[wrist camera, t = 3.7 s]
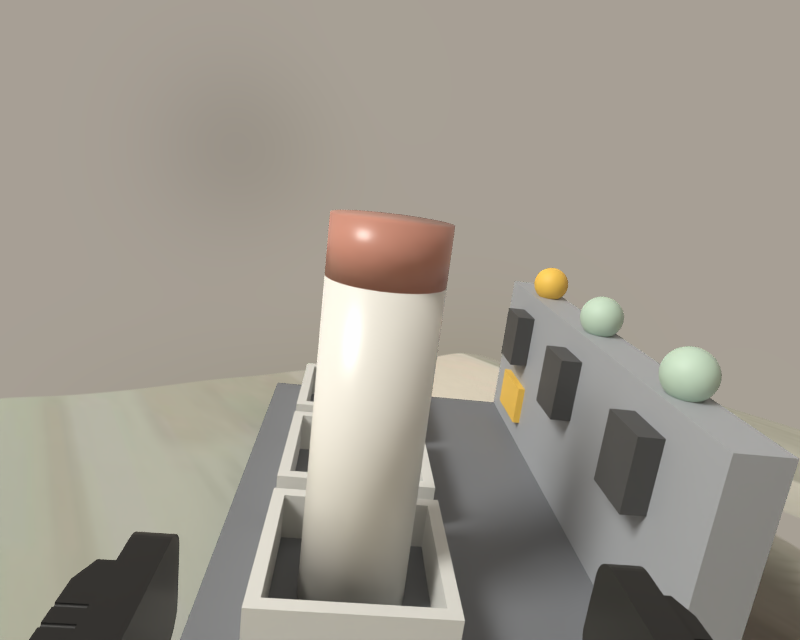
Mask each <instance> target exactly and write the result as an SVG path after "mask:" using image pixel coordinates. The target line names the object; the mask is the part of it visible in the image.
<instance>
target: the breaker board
mask: <svg viewBox="0 0 800 640" xmlns="http://www.w3.org/2000/svg"><path fill="white" fill-rule="evenodd" d="M567 288H568V280H567V277H566V275H565V274H564V273H563V272H562V271H560V270H559V269H556V268H547V269H545V270H543V271H541V272H540V273H539V274H538V275H537V277H536V279H535V283H527V282H519V281H515V283H514V289H513V295H512V300H511V306H510V308H509V312H508V317H507V324H506V329H505V335H504V341H503V346H502V358H501V364H500V370H499V375H498V381H497V387H496V393H495V398H494V402H483V401H472V400H461V399H450V398H439V397H431V403H430V410H429V417H428V425H427V432H426V439H425V446H424V453H423V460H422V468H421V475H420V482H419V489H418V496H417V503H416V511H415V518H414V525H413V532H412V539H411V546H410V554H409V561H408V568H407V575H406V582H405V589H404V597H403V602H402V605H401V606H396V605H379V604H362V603H345V602H328V601H311V600H299V599H298V595H297V587H298V575H299V564H300V553H301V541H302V530H303V518H304V507H305V495H306V484H307V472H308V461H309V449H310V438H311V426H312V415H313V403H314V392H315V381H316V369H317V364H311V363H308V364H307V367H306V371H305V375H304V378H303V382H302V385H297V384H286V383H277V386H276V389H275V391H274V394H273V397H272V399H271V402H270V404H269V407H268V410H267V412H266V415H265V418H264V420H263V423H262V426H261V428H260V431H259V433H258V436H257V439H256V441H255V444H254V447H253V449H252V452H251V454H250V457H249V460H248V462H247V465H246V468H245V470H244V473H243V476H242V478H241V481H240V483H239V486H238V489H237V491H236V494H235V497H234V499H233V502H232V504H231V507H230V510H229V512H228V515H227V518H226V520H225V523H224V526H223V528H222V531H221V533H220V536H219V539H218V541H217V544H216V547H215V549H214V552H213V554H212V557H211V560H210V562H209V565H208V568H207V570H206V573H205V576H204V578H203V581H202V583H201V586H200V589H199V591H198V594H197V597H196V599H195V602H194V604H193V607H192V610H191V612H190V615H189V618H188V620H187V623H186V625H185V628H184V631H183V633H182V636H181V639H180V640H582V638H583V628H584V623H585V619H586V615H587V611H588V606H589V602H590V598H591V594H592V590H593V585H594V581H595V577H596V573H597V570H598V568H599V567H600V565H602V564H617V565H633V566H641V567H643V568H644V569H646V571H647V572H648V573H649V575H650V576H651V578H652V579H653V581H654V582H655V583H656V585H657V586H658V588H659V589H660V591H661V592H662V594H663V595H667V596H672V597H673V598H674V599H676V600H677V601H678V602H679V603H680V604H682V605H683V606H684V607H685V608H686V609H688V610H689V611H690V612H691V613H692V614H694V615H695V616H696V617H697V619H698V620H699V621H700V623H701V624H702V625H703V627H704V628H705V630H706V631H707V632H708V634H709V635H710V636H711V638H712V639H713V640H742V637H743V634H744V630H745V627H746V624H747V621H748V618H749V615H750V612H751V609H752V605H753V602H754V599H755V596H756V593H757V590H758V587H759V583H760V580H761V577H762V574H763V571H764V568H765V565H766V561H767V558H768V555H769V552H770V549H771V546H772V543H773V540H774V536H775V533H776V530H777V527H778V524H779V520H780V517H781V514H782V511H783V508H784V505H785V502H786V499H787V496H788V492H789V489H790V486H791V483H792V480H793V477H794V474H795V470H796V467H797V464H798V461H799V458H797V457H796V456H794V455H793V454H791V453H790V452H788V451H787V450H786V449H784V448H783V447H781V446H780V445H778V444H777V443H775V442H774V441H772V440H771V439H769V438H768V437H766V436H765V435H764V434H762V433H761V432H759V431H758V430H756V429H755V428H753V427H752V426H750V425H749V424H747V423H746V422H744V421H743V420H742V419H740V418H739V417H737V416H736V415H734V414H733V413H731V412H730V411H728V410H727V409H725V408H724V407H722V406H721V405H720V404H718V403H716V402H715V401H714V400H712V399H711V398H710V397H711V396H713V394H715V392H716V391H717V390H718V388H719V386H720V383H721V376H722V374H721V369H720V366H719V364H718V362H717V360H716V359H715V358H714V357H713V356H712V355H711V354H710V353H708V352H707V351H705V350H703V349H701V348H697V347H691V346H690V347H688V346H686V347H680V348H677V349H675V350H673V351H671V352H670V353H668V354H667V355H666V356H665V358H664V359H663V360H662V362H661V364H659V363H658V362H656V361H655V360H654V359H652V358H651V357H649V356H647V355H646V354H645V353H643V352H642V351H640V350H639V349H637V348H636V347H634V346H633V345H632V344H630V343H628V342H627V341H625V340H624V339H623V338H621V337H620V336H618V335H617V334H616V333H617V332H618V331H619V330H620V328H621V327H622V324H623V320H624V314H623V310H622V308H621V307H620V305H619V304H618V303H617V302H616V301H615V300H613V299H611V298H607V297H596V298H593V299H591V300H589V301H588V302H587V303H586V304H585V305H584V306H583V308H582V310H580V309H579V308H577V307H576V306H574V305H573V304H571V303H570V302H568V301H567V300H565V299H564V298H563V297H562V296H563V295H564V294H565V293H566V291H567Z"/></svg>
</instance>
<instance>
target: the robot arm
mask: <svg viewBox="0 0 800 640" xmlns="http://www.w3.org/2000/svg"><path fill="white" fill-rule="evenodd" d="M178 568H179V537H178V535H177V534H164V533H149V532H134V533H133V534H132V535H131V537H130V538H129V540H128V542H127V543H126V545H125V547H124V548H123V550H122V552H121V553H120V555H119V556H118V558H117V560H101V559H97V560H96V561H94V562H93V563H92V564H90V565H89V566H88V567H86V568H85V569H84V570H82V571H81V572H80V573H78V574H77V575H76V576H74V577H73V578H71V580H70V581H69V583H68V584H67V586H66V587H65V589H64V590H63V591H62V593H61V594H60V596H59V597H58V599H57V600H56V602H55V605H54V607H51V609H50V610H49V612H48V613H47V615H46V616H45V617H44V619H43V620H42V622H41V626H40V628H39V627H38V628H37V629H36V630H35V632H34V633H33V635H32V636H31V638H30V639H29V640H171V637H172V633H173V629H174V624H175V619H176V613H177V600H178ZM582 640H713V639H712V638H711V636H710V635H709V634H708V632H707V631H706V630H705V628H704V627H703V625H702V624H701V623H700V621H699V620H698V619H697V617H696V616H695V615H694V614H692V613H691V612H690V611H689V610H688V609H686V608H685V607H684V606H683V605H682V604H680V603H679V602H678V601H677V600H676V599H674V598H673V597H672V596H667V595H663V594H662V592H661V591H660V589H659V588H658V586H657V585H656V583H655V582H654V581H653V579H652V578H651V576H650V575H649V573H648V572H647V571H646V569H644V568H643V567H641V566H633V565H617V564H602V565H600V567H599V568H598V570H597V573H596V577H595V581H594V585H593V590H592V594H591V598H590V602H589V606H588V611H587V615H586V619H585V623H584V628H583V638H582Z"/></svg>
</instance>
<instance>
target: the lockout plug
mask: <svg viewBox="0 0 800 640" xmlns="http://www.w3.org/2000/svg"><path fill="white" fill-rule="evenodd" d="M454 230H455V226H454V225H453V224H449V223H446V222H442V221H437V220H432V219H427V218H421V217H414V216H408V215H400V214H392V213H382V212H372V211H358V210H332V211H331V212H330V221H329V232H328V244H327V254H326V266H325V278H324V289H323V300H322V312H321V323H320V335H319V346H318V358H317V369H316V381H315V392H314V403H313V415H312V426H311V438H310V449H309V461H308V472H307V484H306V495H305V507H304V518H303V530H302V541H301V553H300V564H299V575H298V587H297V595H298V599H299V600H311V601H328V602H345V603H362V604H379V605H396V606H401V605H402V602H403V597H404V589H405V582H406V575H407V568H408V561H409V554H410V546H411V539H412V532H413V525H414V518H415V511H416V503H417V496H418V489H419V482H420V475H421V468H422V460H423V453H424V446H425V439H426V432H427V425H428V417H429V410H430V403H431V396H432V389H433V381H434V374H435V367H436V360H437V352H438V346H439V338H440V331H441V324H442V316H443V309H444V303H445V295H446V288H447V281H448V274H449V266H450V260H451V252H452V245H453V238H454Z"/></svg>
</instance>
